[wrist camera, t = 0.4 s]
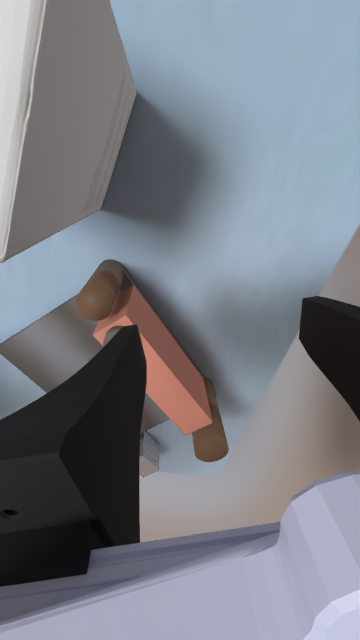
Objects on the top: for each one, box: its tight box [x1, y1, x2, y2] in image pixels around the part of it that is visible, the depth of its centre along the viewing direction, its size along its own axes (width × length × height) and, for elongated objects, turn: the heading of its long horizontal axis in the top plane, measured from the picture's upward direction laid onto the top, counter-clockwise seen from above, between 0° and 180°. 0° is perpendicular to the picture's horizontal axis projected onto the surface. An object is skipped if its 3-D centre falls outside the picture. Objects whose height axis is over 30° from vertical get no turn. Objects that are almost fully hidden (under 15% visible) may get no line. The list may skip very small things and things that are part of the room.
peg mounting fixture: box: [0, 260, 229, 462], centre depth 21 cm, size 13×16×7 cm
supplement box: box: [0, 0, 137, 263], centre depth 10 cm, size 7×7×13 cm
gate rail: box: [93, 285, 213, 435], centre depth 19 cm, size 2×11×6 cm, turn 31°
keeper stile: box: [139, 431, 159, 477], centre depth 28 cm, size 2×3×3 cm, turn 31°
